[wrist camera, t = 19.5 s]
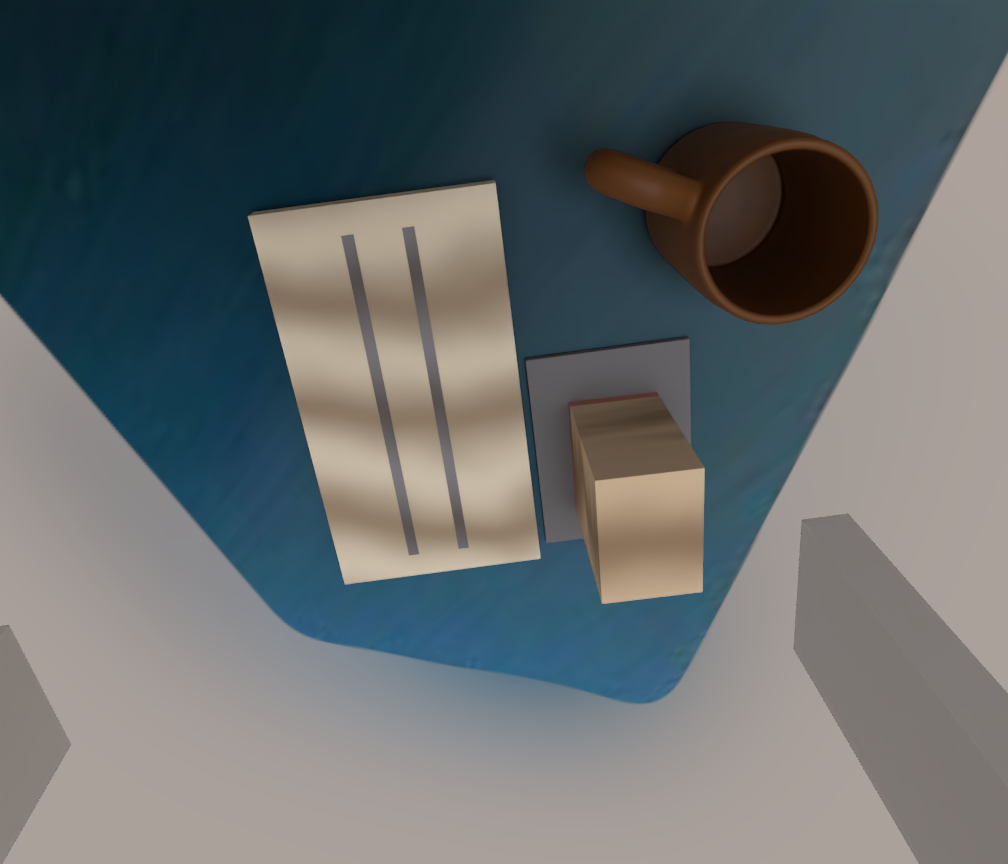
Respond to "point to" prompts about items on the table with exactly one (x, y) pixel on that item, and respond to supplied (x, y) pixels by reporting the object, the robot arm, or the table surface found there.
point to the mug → (752, 215)
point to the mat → (586, 380)
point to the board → (405, 376)
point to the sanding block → (637, 497)
